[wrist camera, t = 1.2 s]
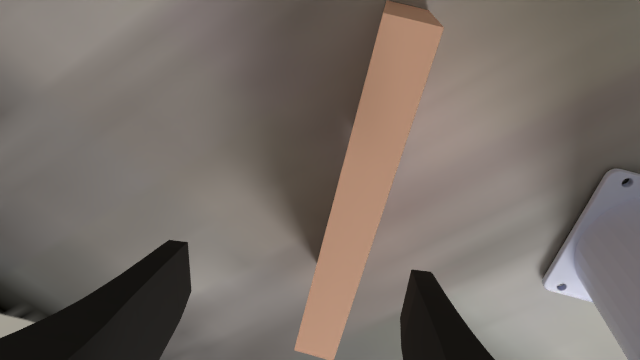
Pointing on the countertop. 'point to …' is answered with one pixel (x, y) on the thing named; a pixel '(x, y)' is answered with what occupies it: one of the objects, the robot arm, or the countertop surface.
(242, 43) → the countertop surface
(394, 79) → the terracotta slotted plate
